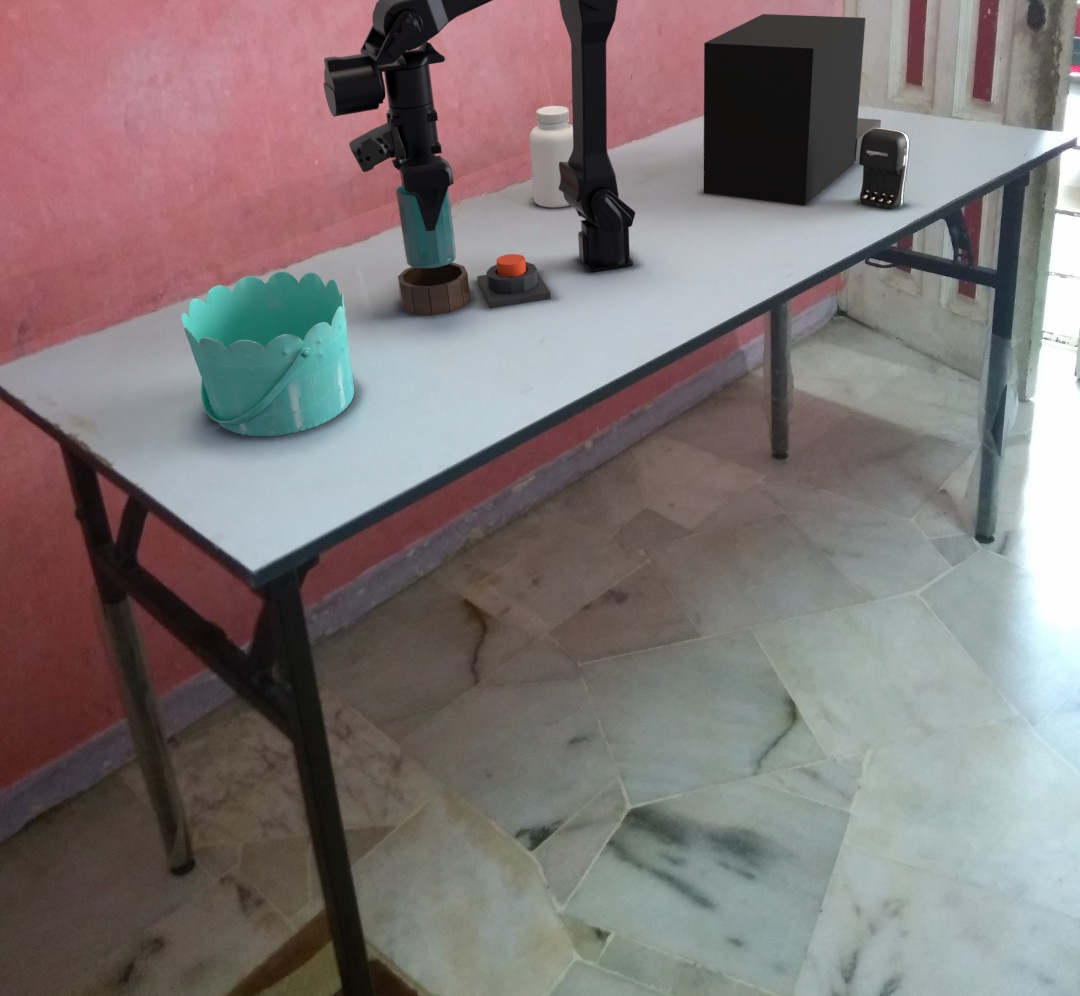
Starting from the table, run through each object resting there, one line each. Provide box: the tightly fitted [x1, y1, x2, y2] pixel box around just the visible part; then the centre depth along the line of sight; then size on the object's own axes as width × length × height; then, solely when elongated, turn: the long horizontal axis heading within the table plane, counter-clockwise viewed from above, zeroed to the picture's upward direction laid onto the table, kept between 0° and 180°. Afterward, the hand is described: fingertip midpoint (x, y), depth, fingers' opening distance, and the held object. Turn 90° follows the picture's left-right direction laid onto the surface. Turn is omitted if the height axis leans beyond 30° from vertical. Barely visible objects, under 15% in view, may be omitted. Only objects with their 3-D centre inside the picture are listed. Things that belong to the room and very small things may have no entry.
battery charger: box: [858, 127, 911, 209], centre depth 176 cm, size 7×4×11 cm, turn 45°
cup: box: [395, 184, 457, 268], centre depth 154 cm, size 7×7×10 cm
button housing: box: [476, 261, 552, 309], centre depth 160 cm, size 10×8×3 cm
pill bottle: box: [529, 105, 573, 208], centre depth 188 cm, size 8×8×15 cm
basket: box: [180, 271, 355, 437], centre depth 133 cm, size 19×18×13 cm
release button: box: [495, 253, 526, 277], centre depth 159 cm, size 4×4×2 cm
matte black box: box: [702, 13, 882, 206], centre depth 191 cm, size 18×35×24 cm, turn 148°
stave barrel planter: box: [397, 262, 471, 316], centre depth 158 cm, size 9×9×4 cm
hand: (426, 221), depth 154 cm, fingers closed on cup, 7 cm apart
